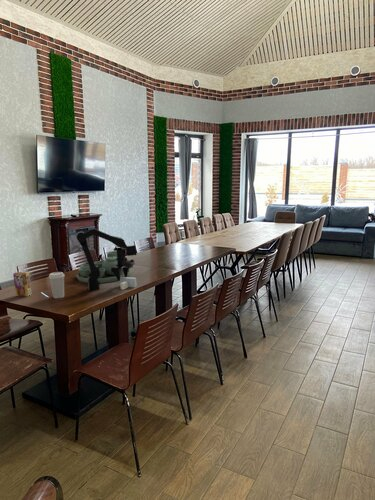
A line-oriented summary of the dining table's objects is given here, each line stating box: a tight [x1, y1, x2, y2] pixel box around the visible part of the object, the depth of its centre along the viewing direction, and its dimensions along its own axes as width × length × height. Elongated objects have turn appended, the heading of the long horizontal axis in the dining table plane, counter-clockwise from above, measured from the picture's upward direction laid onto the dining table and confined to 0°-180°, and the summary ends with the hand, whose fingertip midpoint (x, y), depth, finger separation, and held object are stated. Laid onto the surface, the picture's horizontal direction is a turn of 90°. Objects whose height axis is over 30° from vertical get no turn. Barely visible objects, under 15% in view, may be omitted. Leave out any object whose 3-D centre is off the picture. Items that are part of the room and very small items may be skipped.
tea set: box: [76, 250, 131, 284], centre depth 277 cm, size 40×40×16 cm
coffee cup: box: [48, 271, 66, 299], centre depth 229 cm, size 10×10×15 cm
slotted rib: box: [120, 281, 130, 291], centre depth 248 cm, size 16×2×4 cm, turn 160°
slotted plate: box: [118, 276, 138, 288], centre depth 248 cm, size 12×2×6 cm, turn 69°
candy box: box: [12, 271, 33, 297], centre depth 234 cm, size 9×4×15 cm, turn 82°
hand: (122, 279), depth 249 cm, fingers open, 9 cm apart
